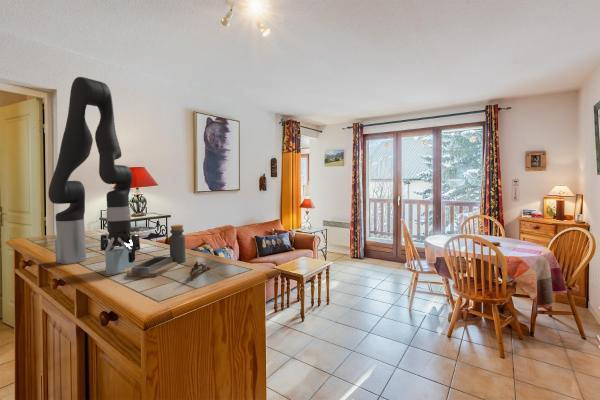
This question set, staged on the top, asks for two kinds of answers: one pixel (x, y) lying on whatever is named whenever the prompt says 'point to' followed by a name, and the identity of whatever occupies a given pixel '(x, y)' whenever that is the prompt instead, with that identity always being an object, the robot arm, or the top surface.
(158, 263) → the grey piece
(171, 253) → the bottle
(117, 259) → the door
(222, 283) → the top surface
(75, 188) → the robot arm
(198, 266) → the figurine
